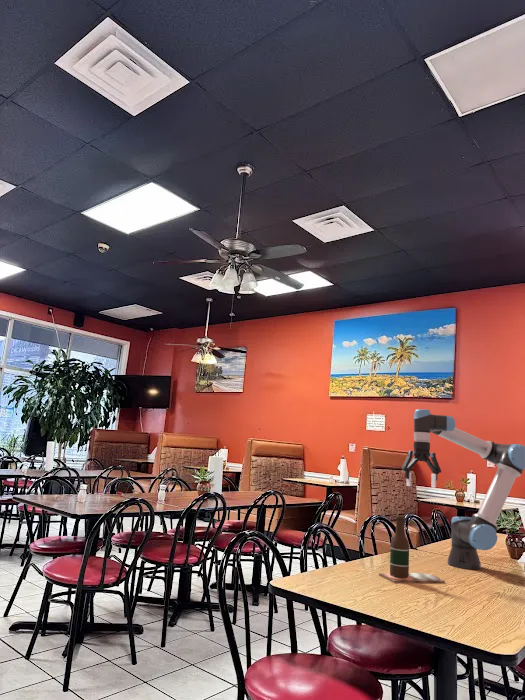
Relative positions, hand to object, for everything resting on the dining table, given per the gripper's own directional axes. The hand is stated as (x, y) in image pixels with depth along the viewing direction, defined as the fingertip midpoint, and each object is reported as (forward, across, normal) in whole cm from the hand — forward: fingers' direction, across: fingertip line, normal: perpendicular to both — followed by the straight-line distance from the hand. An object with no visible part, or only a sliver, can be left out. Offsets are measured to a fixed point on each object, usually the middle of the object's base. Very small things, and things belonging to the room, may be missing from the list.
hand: (421, 487), depth 240 cm
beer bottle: (+36, +22, +18) cm, 46 cm away
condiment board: (+37, +16, +18) cm, 44 cm away
